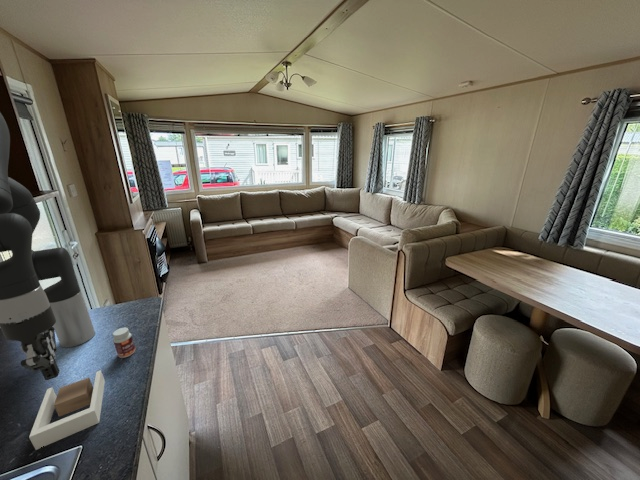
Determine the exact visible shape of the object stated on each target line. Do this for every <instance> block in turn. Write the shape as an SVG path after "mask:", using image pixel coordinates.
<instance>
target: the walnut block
mask: <svg viewBox="0 0 640 480" xmlns="http://www.w3.org/2000/svg"><path fill="white" fill-rule="evenodd" d="M93 388H94V385H93V383H92V382H91V379H90V377H86V378H84V379H80V380H78V381H75V382H73V383H69V384H66V385H64V386H61V387H59V388H58V392H57V394H56V396H57V397H56V400H55V404H54V407H55V409H54V410H55V411H56V413H57V415H58V418H59V417H62V416H65V415H67V414H71V413H72V412H75V411H78V410H80V409H83V408H85V407H87V406H90V404H91V399H92V393H93Z"/></svg>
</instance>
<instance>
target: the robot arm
mask: <svg viewBox="0 0 640 480" xmlns="http://www.w3.org/2000/svg"><path fill="white" fill-rule="evenodd" d="M10 148H11V134H10V129H9V126H8V124H7V122H6V120H5V118H4V116H3V114H2V112H0V253H4V252H10V251H11V254H12V255H11V257H9V258H8V259H6V260H2V261H0V330H1V332H2V334H3V336H4V338H5V339H6V340H8V341H13V342H14V341H15V342H20V349H21V351H22V353H25V356H26V359H22V360H21V361H20V365H21V366H20V367H23V368H25V369H27V370H29V371H31V372H38V371H40V372H41V374H42V376H43V378H44V380H45V381H49V380H53V379H55V378H57V377H59V373H60V368H59V366H58V363H57V361H56V357H57V356H56V352H57V351H58V349H57V342H56V338H57V340H58V342H59V345H60V347H61V348H72V347H76V346H80V345H82V344H84V343H86V342H88V341H89V340H91V339H92V338H93V337H95V334H96V331H95V328H94V325H93V322H92V319H91V316H90V313H89V311H88V307H87V305H86V303H85V299H84V296H83V293H82V290H81V288H80V285H79V281H78V279H77V275H76V273H75V268H74V265H73V260H72V257H71V254H70V252H69V251H68V250H67V249H66V248H65V247H63V246H62V247H54V248H47V249H42V250H41V249H40V250H33V249H32V246H33V245H32V244H33V233H34V232H35V230H36V228H37V227H38V225H39V222H40V219H41V210H40V209H39V206H38V204H37V202H36V201H35V198H34V197H33V195H32V193H31V191H30V190H29V189H28V188H26V187H25V186H24V185H23V184H21V183H20V182H18V181H16V180H15V179H13V178H12V177H9V172H8V171H9V170H8V169H9V160H10ZM54 278H55V279H56V278H60V280H59V281H57V282H56V283H53V284H51V285H50V286H48V287H45V288H44V289H43V286H42V285H41V282H40V281H43V280H50V279H54Z"/></svg>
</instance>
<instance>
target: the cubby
mask: <svg viewBox="0 0 640 480" xmlns="http://www.w3.org/2000/svg"><path fill="white" fill-rule="evenodd" d="M105 380H106V379H105V377H104V374H103V373H102V370H101V369H100V370H98V371H96V373H95V379H94V383H93V393H92V398H91V403H90V405H89V408H86V409H84V410H82V411H79V412H76V413H73V414H71V415H68V416H66V417H63V418H61V419H59V420H56V421H54V422H51V421H52V417H53V414H54V411H55V410H56V409H55V407H54V404H55V400H56V397H57V394H56V393H55V389H54V387H50V388H47V389H46V392H45V393H44V396H43V398H42V399H43V400H42V402H41V404H40V407H39V409H38V412H37V415H36V417H35V420H34V423H33V426H32V428H31V431H30V434H29V440H30V442H31V444H32V446H33V448H34V449H35V451H37V450H40V449H41V447H42V448H44V447H46V446H48V445H51V444H53V443H55V442H58V441H60V440H63V439H65V438H68V437H69V436H72V435H74V434H76V433H78V432H81V431H83V430H85V429H88V428H90V427H93V426H94V425H96V424H99V423H100V420H101V413H102V406H103V398H104V391H105V383H106V381H105ZM43 446H44V447H43Z"/></svg>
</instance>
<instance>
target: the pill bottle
mask: <svg viewBox="0 0 640 480" xmlns="http://www.w3.org/2000/svg"><path fill="white" fill-rule="evenodd" d="M112 336H113V340H112V341H113V345H114V348H115V351H116V353H117V356H118V357H119V358H121V359H124V358H128V357H130V356H132V355H134V353H135V352H136V346H135V343H134V338H133V335H132V333H131V332H130V330H129V328H128V327H120V328H118V329H116V330H114V331H113V332H112Z"/></svg>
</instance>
